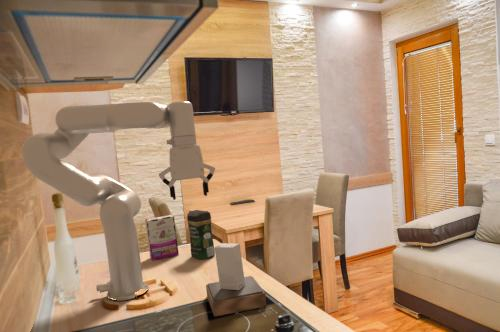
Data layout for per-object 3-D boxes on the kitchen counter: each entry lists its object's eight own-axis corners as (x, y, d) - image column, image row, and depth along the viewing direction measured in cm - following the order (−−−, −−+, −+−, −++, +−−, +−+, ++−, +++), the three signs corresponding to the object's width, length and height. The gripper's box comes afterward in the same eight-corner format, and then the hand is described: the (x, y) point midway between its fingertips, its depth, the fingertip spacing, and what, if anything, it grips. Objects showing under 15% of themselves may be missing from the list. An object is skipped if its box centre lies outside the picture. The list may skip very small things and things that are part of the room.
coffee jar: (188, 257, 158) (183, 211, 157) (204, 252, 164) (199, 207, 162) (202, 261, 151) (196, 213, 150) (218, 255, 156) (213, 209, 155)
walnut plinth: (214, 316, 102) (212, 301, 102) (207, 296, 116) (205, 283, 116) (266, 306, 105) (264, 291, 105) (253, 288, 119) (252, 275, 119)
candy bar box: (176, 252, 167) (171, 214, 166) (179, 255, 163) (174, 215, 162) (149, 258, 163) (144, 218, 162) (151, 261, 158) (146, 220, 157)
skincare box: (245, 285, 111) (241, 242, 110) (238, 291, 107) (233, 247, 106) (226, 283, 114) (222, 242, 113) (218, 289, 110) (214, 246, 109)
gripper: (155, 145, 117) (162, 202, 118) (213, 139, 121) (219, 195, 122) (155, 145, 124) (161, 199, 125) (210, 139, 128) (215, 192, 129)
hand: (190, 197), depth 123 cm, fingers open, 9 cm apart
